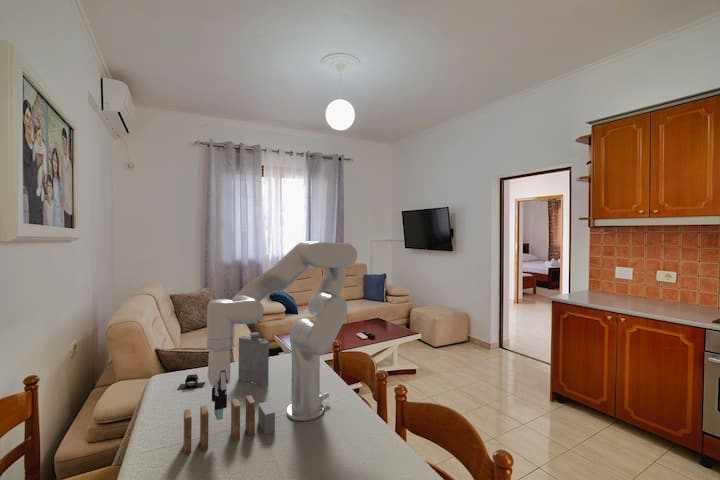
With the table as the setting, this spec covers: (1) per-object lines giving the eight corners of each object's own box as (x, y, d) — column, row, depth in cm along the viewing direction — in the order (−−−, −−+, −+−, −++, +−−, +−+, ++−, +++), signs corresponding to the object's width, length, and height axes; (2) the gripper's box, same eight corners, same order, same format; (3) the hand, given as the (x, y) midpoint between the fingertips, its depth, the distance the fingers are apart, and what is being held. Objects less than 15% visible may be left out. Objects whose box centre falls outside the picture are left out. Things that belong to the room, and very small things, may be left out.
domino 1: (189, 443, 98) (190, 408, 98) (191, 452, 93) (191, 416, 93) (183, 445, 97) (183, 410, 97) (184, 454, 93) (185, 418, 93)
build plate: (172, 392, 131) (172, 381, 131) (177, 384, 138) (177, 373, 138) (207, 389, 134) (207, 377, 134) (210, 381, 141) (210, 370, 141)
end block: (267, 419, 111) (267, 401, 111) (274, 431, 104) (275, 412, 104) (258, 422, 109) (258, 403, 109) (265, 434, 102) (265, 414, 102)
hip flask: (236, 379, 143) (237, 331, 143) (244, 375, 146) (244, 329, 146) (264, 387, 135) (264, 337, 135) (271, 383, 138) (272, 334, 138)
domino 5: (250, 426, 107) (251, 395, 107) (254, 434, 102) (254, 401, 102) (245, 428, 106) (245, 396, 106) (249, 436, 102) (249, 403, 101)
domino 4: (236, 430, 104) (236, 398, 104) (239, 439, 100) (240, 405, 100) (231, 432, 104) (231, 399, 104) (234, 440, 99) (234, 406, 99)
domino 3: (220, 411, 102) (220, 377, 102) (222, 418, 98) (223, 384, 98) (214, 412, 101) (215, 378, 101) (216, 420, 97) (217, 385, 97)
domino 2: (206, 439, 100) (206, 405, 100) (208, 448, 96) (208, 412, 96) (200, 440, 99) (200, 406, 99) (202, 449, 95) (202, 414, 95)
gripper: (203, 336, 105) (201, 395, 105) (210, 352, 90) (208, 421, 90) (228, 333, 109) (227, 390, 109) (239, 348, 94) (238, 414, 94)
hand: (219, 403), depth 99 cm, fingers closed on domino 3, 4 cm apart
